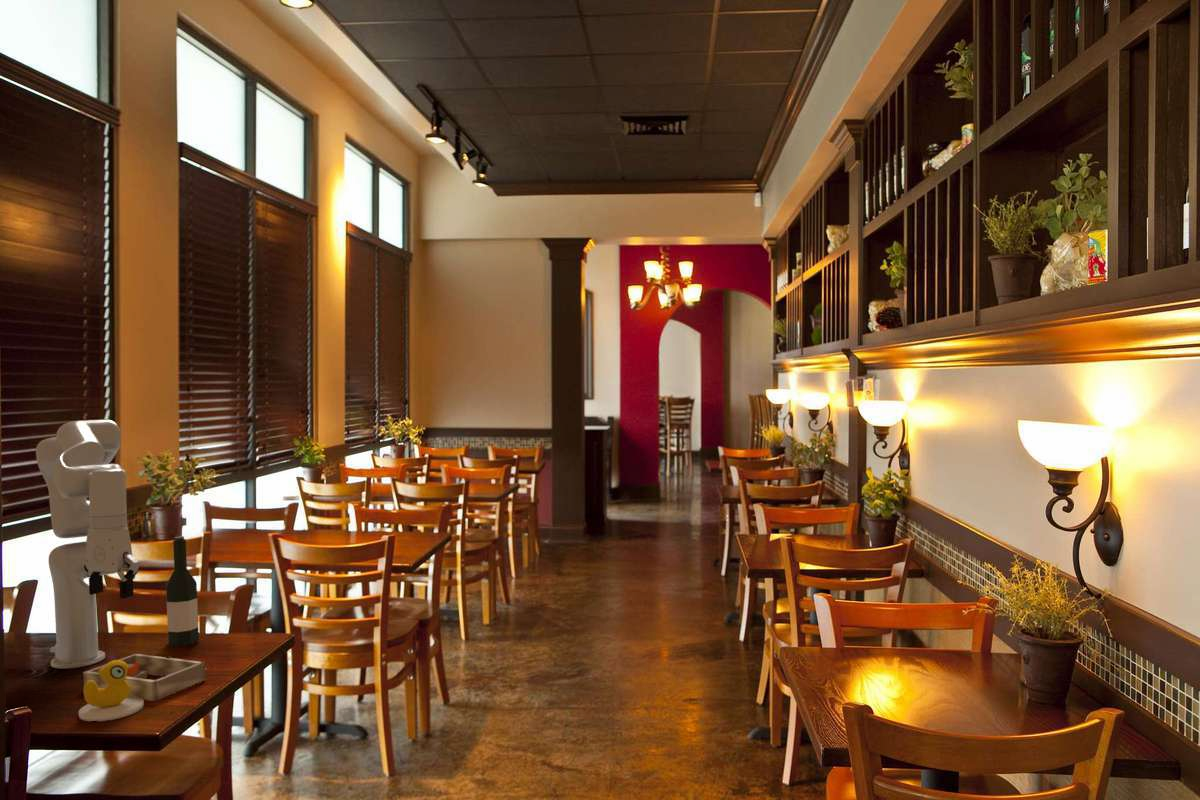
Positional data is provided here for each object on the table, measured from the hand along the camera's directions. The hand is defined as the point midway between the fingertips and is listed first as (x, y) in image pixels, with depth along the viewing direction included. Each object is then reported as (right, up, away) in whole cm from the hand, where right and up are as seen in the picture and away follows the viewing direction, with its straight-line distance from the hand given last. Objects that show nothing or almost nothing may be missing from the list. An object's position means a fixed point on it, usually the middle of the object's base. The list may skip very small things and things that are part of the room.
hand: (111, 595), depth 212 cm
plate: (+3, -25, -5) cm, 26 cm away
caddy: (+3, -25, +11) cm, 27 cm away
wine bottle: (-5, -24, +47) cm, 53 cm away
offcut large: (-4, -25, +14) cm, 29 cm away
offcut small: (-4, -23, +14) cm, 27 cm away
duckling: (+3, -24, -5) cm, 25 cm away
